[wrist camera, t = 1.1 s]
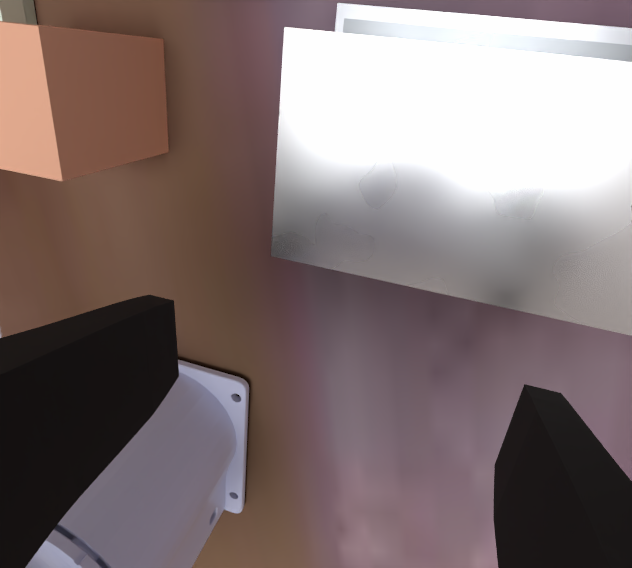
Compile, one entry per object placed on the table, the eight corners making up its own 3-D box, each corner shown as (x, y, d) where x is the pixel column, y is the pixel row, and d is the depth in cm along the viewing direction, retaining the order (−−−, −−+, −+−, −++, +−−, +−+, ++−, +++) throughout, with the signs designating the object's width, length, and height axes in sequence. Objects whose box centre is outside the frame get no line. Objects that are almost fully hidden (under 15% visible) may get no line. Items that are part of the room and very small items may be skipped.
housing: (604, 274, 15) (680, 389, 10) (319, 218, 17) (251, 287, 12) (706, 37, 12) (907, 10, 6) (342, 5, 14) (263, -36, 9)
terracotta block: (169, 151, 18) (62, 181, 13) (85, 137, 19) (-43, 159, 14) (163, 38, 16) (38, 25, 11) (71, 28, 17) (-82, 12, 12)
